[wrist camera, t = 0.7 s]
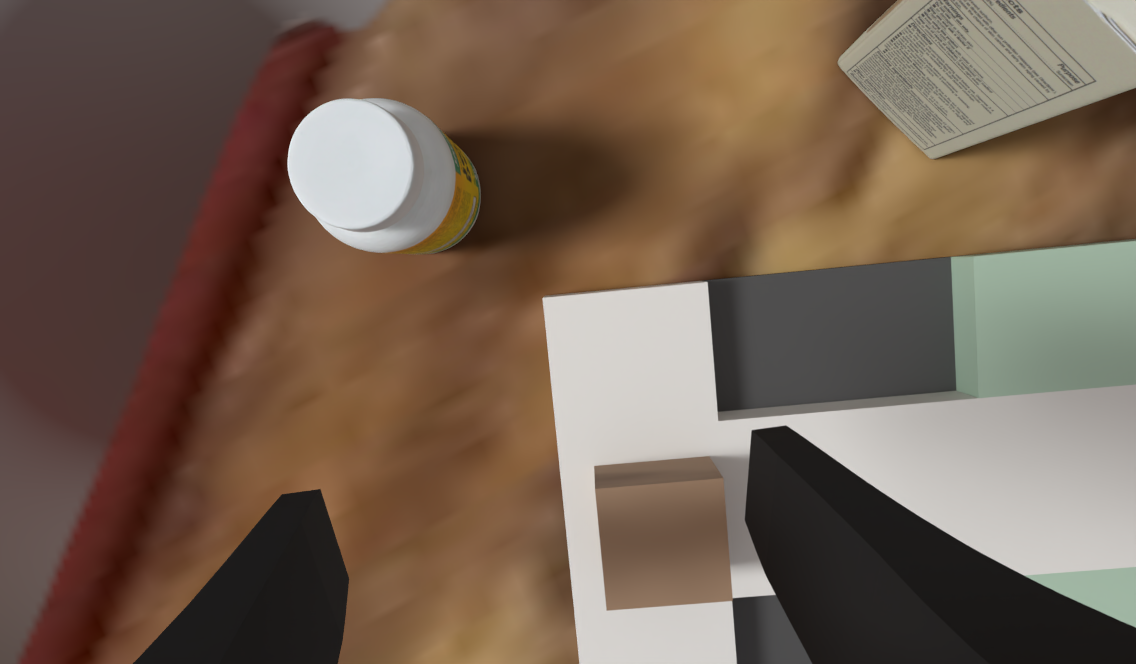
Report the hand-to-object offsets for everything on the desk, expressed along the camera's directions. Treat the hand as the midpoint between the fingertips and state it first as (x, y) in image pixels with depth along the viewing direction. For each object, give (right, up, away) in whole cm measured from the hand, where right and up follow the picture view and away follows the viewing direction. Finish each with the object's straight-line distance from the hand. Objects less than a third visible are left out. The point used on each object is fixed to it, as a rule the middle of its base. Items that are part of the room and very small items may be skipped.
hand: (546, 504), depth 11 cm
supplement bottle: (-6, +9, +19) cm, 22 cm away
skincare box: (+16, +14, +18) cm, 27 cm away
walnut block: (+4, -5, +18) cm, 19 cm away
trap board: (+13, -4, +19) cm, 24 cm away
